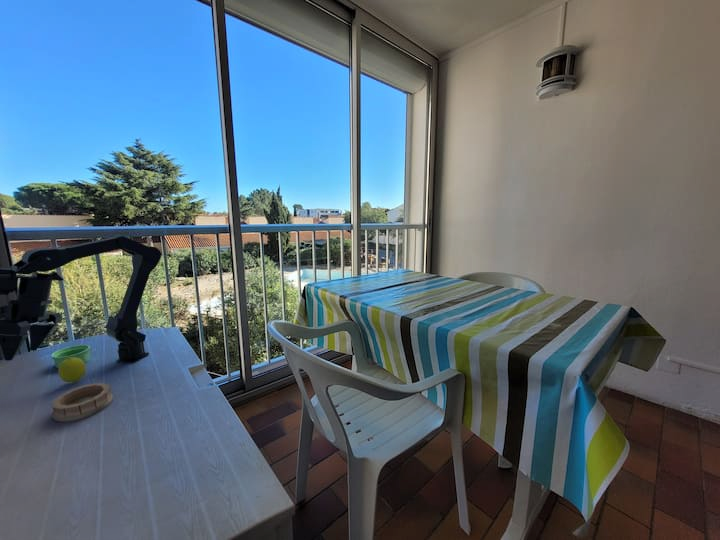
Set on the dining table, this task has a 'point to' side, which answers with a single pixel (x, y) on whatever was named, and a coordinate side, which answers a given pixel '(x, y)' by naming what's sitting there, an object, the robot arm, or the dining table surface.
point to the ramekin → (71, 354)
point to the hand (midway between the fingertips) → (21, 355)
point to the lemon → (72, 370)
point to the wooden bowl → (81, 402)
